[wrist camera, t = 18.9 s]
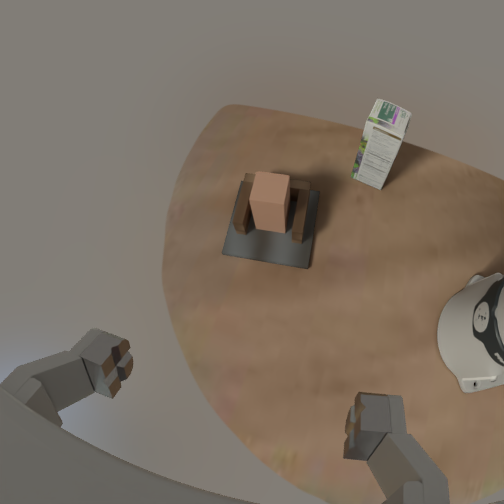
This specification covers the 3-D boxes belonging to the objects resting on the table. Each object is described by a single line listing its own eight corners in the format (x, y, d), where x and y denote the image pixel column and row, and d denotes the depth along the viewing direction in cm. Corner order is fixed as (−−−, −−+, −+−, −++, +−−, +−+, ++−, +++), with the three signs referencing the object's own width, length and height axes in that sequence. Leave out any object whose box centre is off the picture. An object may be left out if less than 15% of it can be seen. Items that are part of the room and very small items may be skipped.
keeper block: (290, 207, 50) (289, 175, 42) (285, 233, 48) (283, 204, 40) (262, 203, 51) (256, 171, 42) (256, 228, 49) (249, 199, 41)
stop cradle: (319, 193, 51) (321, 177, 47) (307, 269, 47) (309, 258, 42) (241, 182, 53) (237, 167, 49) (222, 254, 49) (216, 243, 45)
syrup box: (360, 154, 53) (375, 95, 39) (390, 167, 51) (413, 111, 38) (350, 177, 51) (364, 119, 38) (381, 192, 50) (405, 136, 36)
